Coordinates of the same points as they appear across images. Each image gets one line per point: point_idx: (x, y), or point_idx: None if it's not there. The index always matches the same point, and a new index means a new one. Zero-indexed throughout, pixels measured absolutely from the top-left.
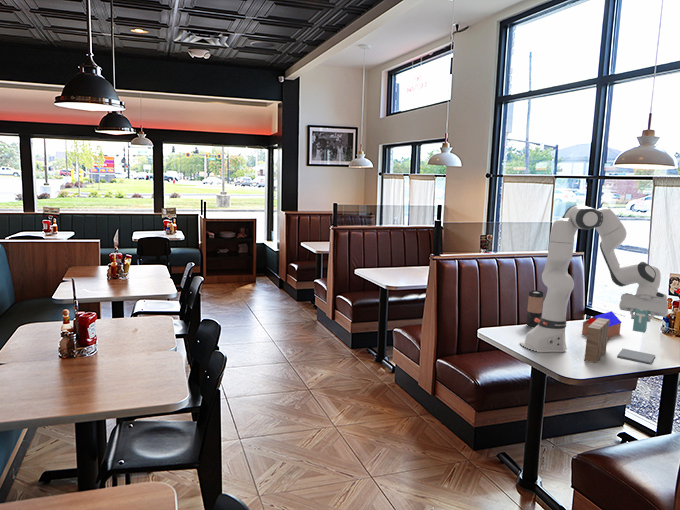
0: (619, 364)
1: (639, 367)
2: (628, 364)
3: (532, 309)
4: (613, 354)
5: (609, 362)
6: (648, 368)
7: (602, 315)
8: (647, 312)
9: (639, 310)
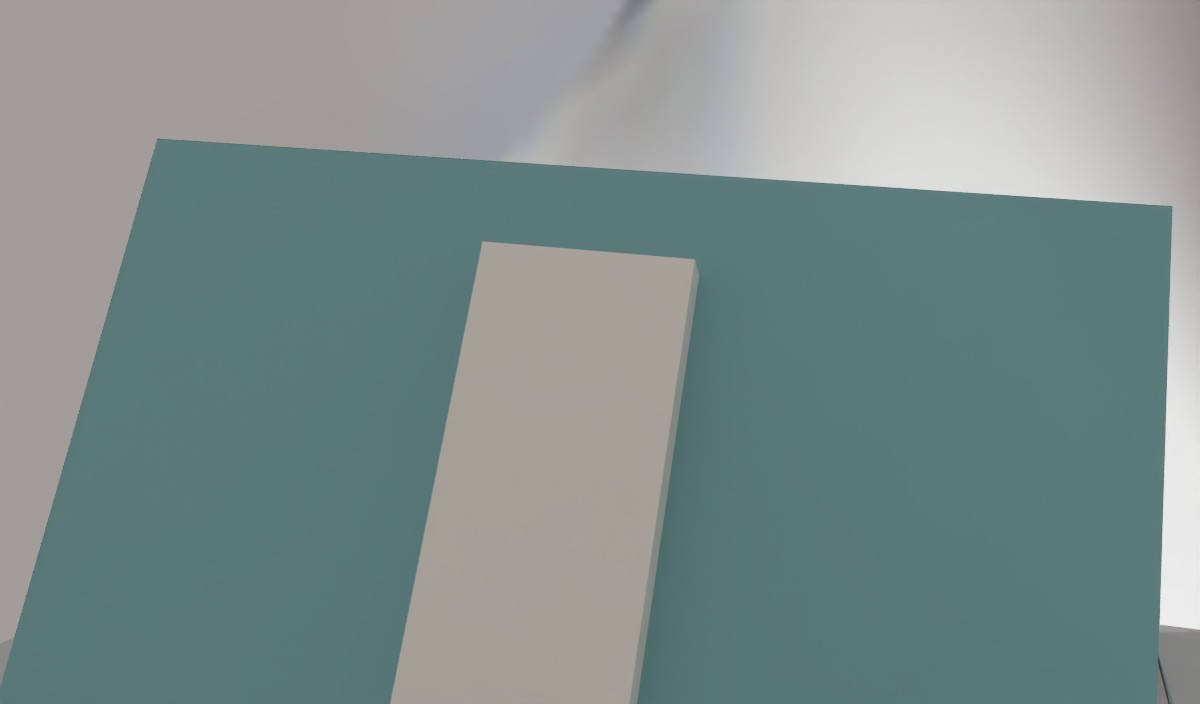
0: (1002, 41)
1: (708, 95)
2: (870, 133)
3: None
4: (1186, 574)
5: (1166, 37)
6: (585, 134)
7: None
8: (145, 375)
9: (750, 346)
